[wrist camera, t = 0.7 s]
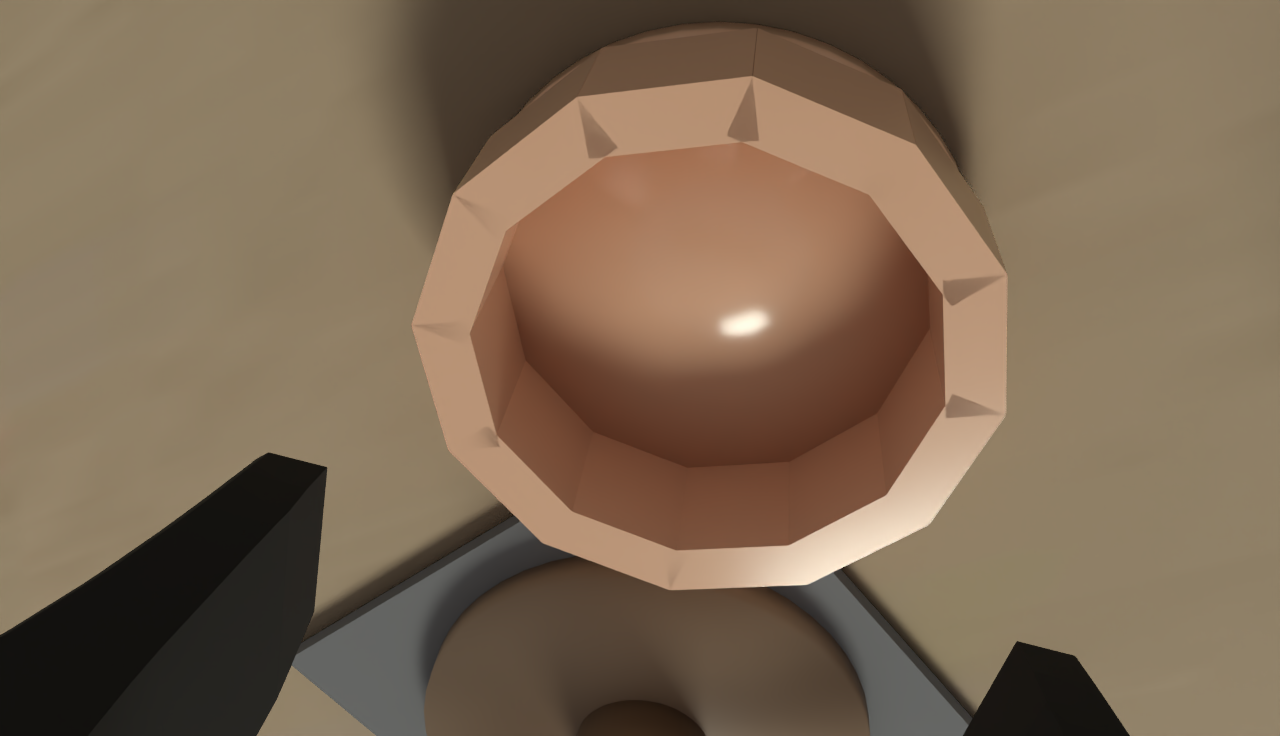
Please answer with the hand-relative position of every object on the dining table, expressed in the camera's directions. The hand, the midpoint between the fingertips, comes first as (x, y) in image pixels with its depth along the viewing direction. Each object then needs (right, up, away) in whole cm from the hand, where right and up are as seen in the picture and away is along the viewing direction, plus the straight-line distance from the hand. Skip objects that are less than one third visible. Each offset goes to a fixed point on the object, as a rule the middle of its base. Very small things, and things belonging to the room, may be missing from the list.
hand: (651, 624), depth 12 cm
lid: (0, -5, +14) cm, 15 cm away
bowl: (+1, +4, +9) cm, 10 cm away
